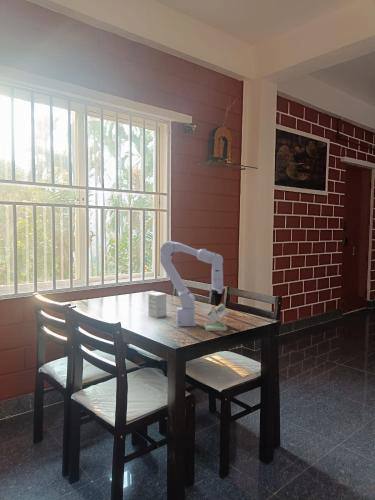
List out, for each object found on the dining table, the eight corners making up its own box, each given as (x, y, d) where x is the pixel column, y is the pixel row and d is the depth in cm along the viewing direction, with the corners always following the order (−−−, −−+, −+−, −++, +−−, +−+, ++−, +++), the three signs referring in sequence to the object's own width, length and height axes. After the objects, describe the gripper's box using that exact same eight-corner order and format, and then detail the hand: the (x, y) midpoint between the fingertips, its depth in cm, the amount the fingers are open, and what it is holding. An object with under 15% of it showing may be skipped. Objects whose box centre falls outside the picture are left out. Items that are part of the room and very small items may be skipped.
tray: (206, 330, 177) (206, 327, 177) (203, 325, 186) (203, 322, 186) (226, 330, 178) (226, 327, 178) (223, 325, 187) (223, 322, 187)
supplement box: (158, 313, 209) (158, 291, 208) (166, 316, 203) (166, 293, 203) (147, 315, 204) (148, 293, 203) (156, 318, 198) (156, 295, 197)
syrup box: (215, 308, 191) (221, 302, 178) (222, 317, 190) (229, 312, 176) (206, 314, 189) (212, 308, 176) (213, 324, 188) (220, 318, 175)
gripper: (228, 280, 177) (228, 308, 178) (222, 276, 191) (222, 302, 192) (213, 280, 176) (214, 308, 177) (208, 276, 190) (209, 302, 191)
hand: (217, 305), depth 184 cm, fingers closed
